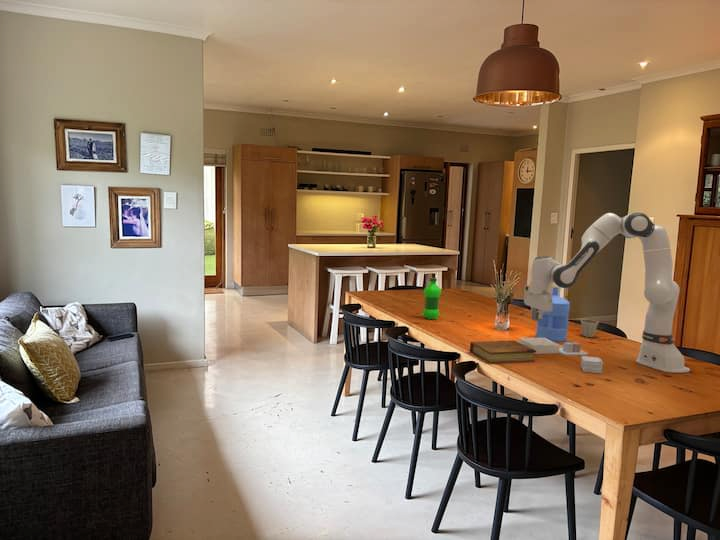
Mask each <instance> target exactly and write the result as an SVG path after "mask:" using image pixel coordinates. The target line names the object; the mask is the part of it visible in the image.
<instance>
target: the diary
mask: <svg viewBox="0 0 720 540" xmlns="http://www.w3.org/2000/svg"><path fill="white" fill-rule="evenodd" d="M469 344H470V346H469V352H470V353H471V354H472V355H475V356H476V357H478V358H479V359H481V360H483V361H484V362H486V363H488V364H491V365H492V364H506V363H507V364H510V363H511V364H513V363H531V362H533V363H535V362H536V360H535V359H534V356H535V355H534V353H536V350H534V349H531V348H529V347H527V346H525V345H523V344H521V343H518V341H516V340H492V341H470V343H469Z"/></svg>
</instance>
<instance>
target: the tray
mask: <svg viewBox="0 0 720 540" xmlns="http://www.w3.org/2000/svg"><path fill="white" fill-rule="evenodd" d="M558 354H559V355H562V356H565V357H566V356H567V357H568V356H571V357H572V356H589V355H590V354H589V353H588V352H586V351H584V350H583V349H580V352H565V351H563V345H560V351H559V353H558Z"/></svg>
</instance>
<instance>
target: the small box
mask: <svg viewBox="0 0 720 540" xmlns="http://www.w3.org/2000/svg"><path fill="white" fill-rule="evenodd" d="M580 356H581V357H580V369H581V370H582V372H584V373H585V372H586V373H593V374H594V373H595V374H603V365H604V362H603V360H602V359H601V358H600V357H595V356H588V355H580Z"/></svg>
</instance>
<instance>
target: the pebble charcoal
mask: <svg viewBox="0 0 720 540" xmlns="http://www.w3.org/2000/svg"><path fill="white" fill-rule="evenodd" d="M538 314H539V311H538V310H536V311H531V320H534V321H535V322H537V321H541V319H538V318H537V315H538Z"/></svg>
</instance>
